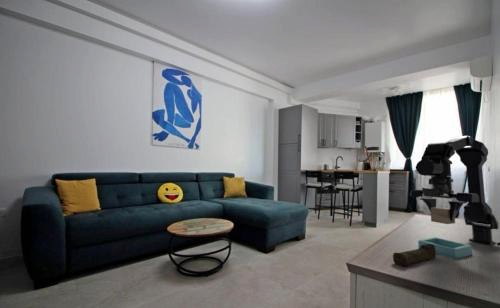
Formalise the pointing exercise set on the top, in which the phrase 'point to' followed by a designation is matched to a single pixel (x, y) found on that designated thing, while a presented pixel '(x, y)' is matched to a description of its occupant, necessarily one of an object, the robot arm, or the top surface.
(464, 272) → the top surface
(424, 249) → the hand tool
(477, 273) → the top surface
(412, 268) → the top surface
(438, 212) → the walnut block
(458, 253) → the tray
